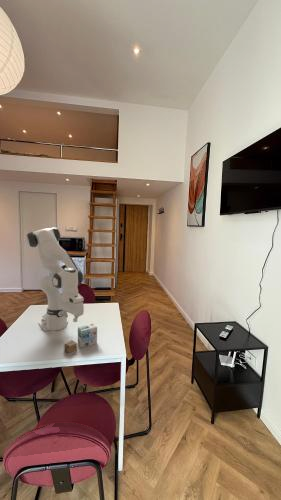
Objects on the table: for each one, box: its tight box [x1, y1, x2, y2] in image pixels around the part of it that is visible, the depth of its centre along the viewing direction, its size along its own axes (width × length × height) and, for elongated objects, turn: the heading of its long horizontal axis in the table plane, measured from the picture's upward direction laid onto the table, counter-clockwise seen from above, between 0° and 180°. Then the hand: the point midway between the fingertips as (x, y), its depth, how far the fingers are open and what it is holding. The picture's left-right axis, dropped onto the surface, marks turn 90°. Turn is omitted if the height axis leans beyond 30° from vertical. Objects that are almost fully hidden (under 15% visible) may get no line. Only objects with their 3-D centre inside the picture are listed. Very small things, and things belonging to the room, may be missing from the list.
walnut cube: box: [63, 339, 78, 355], centre depth 129 cm, size 5×5×5 cm
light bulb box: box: [77, 323, 98, 348], centre depth 138 cm, size 11×7×11 cm, turn 126°
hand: (70, 319), depth 127 cm, fingers open, 8 cm apart
